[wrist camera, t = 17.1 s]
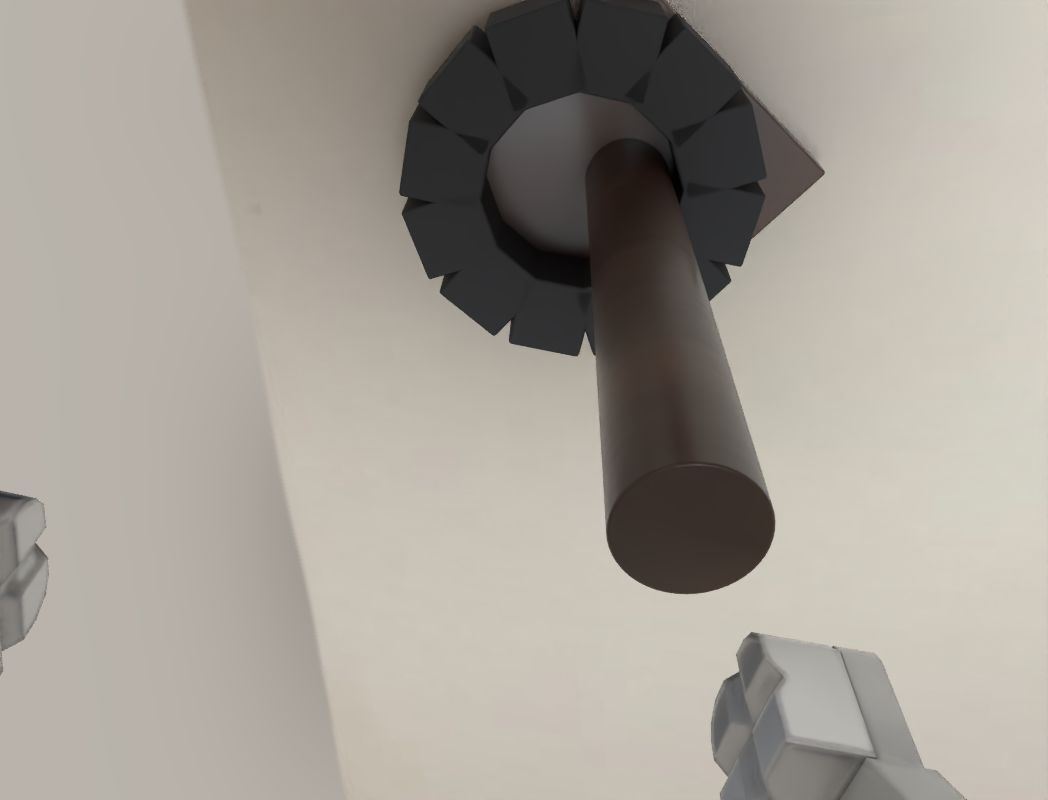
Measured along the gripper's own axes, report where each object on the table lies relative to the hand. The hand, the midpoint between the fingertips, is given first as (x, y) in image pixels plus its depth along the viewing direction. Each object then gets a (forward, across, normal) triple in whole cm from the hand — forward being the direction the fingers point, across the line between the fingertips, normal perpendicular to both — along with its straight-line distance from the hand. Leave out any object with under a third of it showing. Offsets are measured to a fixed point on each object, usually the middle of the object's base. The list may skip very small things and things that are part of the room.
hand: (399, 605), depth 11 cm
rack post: (+20, -4, 0) cm, 20 cm away
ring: (+19, -3, 0) cm, 19 cm away
